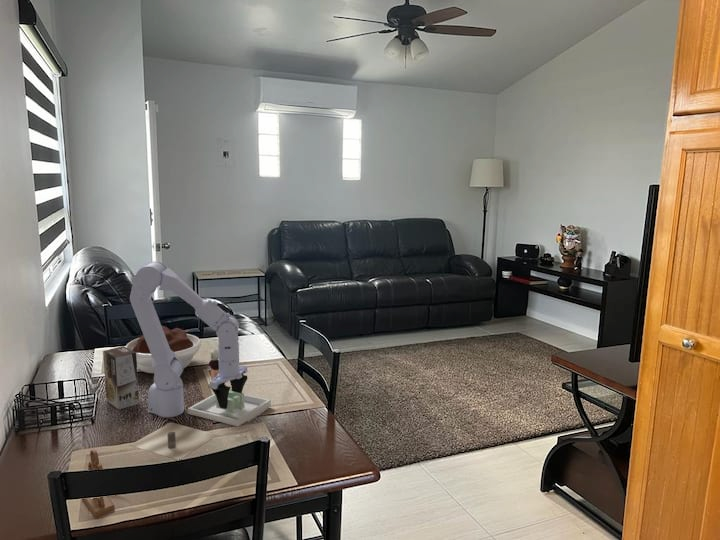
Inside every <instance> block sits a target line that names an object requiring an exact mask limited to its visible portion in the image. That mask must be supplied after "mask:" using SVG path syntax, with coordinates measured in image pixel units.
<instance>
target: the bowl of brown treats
mask: <svg viewBox="0 0 720 540" xmlns="http://www.w3.org/2000/svg"><path fill="white" fill-rule="evenodd" d="M161 326H162V329H163V331H164V334H165V336H166V339H167V342H168V344H169V347H170V349H171V350H172V351H173V352H174V353H175V355H176V357H177V358H178V359H179V360H180V361H181V362H182V364H183V369H185V368H187V367H189V365H191V363H192V361H193V358H194V356H195V355H196V354H197V352H198V351H199V349H200V348H201V346H202V343H201V342H202V341H201V339H200V338H199V337H198V336H196V335H194V334H189V333H187V331H186V330H184V329H182V328H179V327H175V328H173V329H170V328H168V327H167V326H165V325H161ZM125 347H126V348H128V349H130V350H132V351H134V352H136V358H137V370H139V371H141V372H144V373H147V374H152V375H154V370H153V358H152V355H151V353H150V350H149V348H148V345H147V342H146V340H145V337H144V335H143V334H142V335H141V336H140V337H138V338H135V339H133V340H130V342H128V343H126V345H125Z"/></svg>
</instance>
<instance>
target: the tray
mask: <svg viewBox="0 0 720 540" xmlns="http://www.w3.org/2000/svg"><path fill="white" fill-rule="evenodd" d="M243 394H244V404H245V408H243V409H242V410H240V409H235V410H234V411H228V410H224V409H220V408H216V395H215V393H214V394H212V395H210V396H209V397H208V396H207V398H204V399H203V400H200V401H199V402H197V403H195V404H193V405H192V406H190V407H188V408H187V415H192V416H196V417H200V418H203V419H207V420H212V421H215V422H218V423H223V424H227V425H231V426H234V427H240V426H241V425H243V424H244V423H245V422H249V423H251V422H252V421H253V420H255V419H256V418H258V417H259V416H260V415H259V414H261V413H262V412H263V411H265V410H267V409H268V408H269V407H271V408H272V400H271V399H268V398H264V397H259V396H256V395H251V394H245V393H243ZM268 410H269V409H268ZM268 410H267V411H268ZM265 412H266V411H265ZM262 414H263V413H262ZM262 414H261V415H262ZM258 415H259V416H258ZM257 416H258V417H257ZM254 418H255V419H254ZM251 420H252V421H251Z"/></svg>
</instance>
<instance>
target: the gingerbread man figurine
mask: <svg viewBox="0 0 720 540" xmlns="http://www.w3.org/2000/svg"><path fill="white" fill-rule="evenodd" d="M89 452H90V453H89V456H90V461H89V462H88V464H87V467H88V469H87V470H100V469H103V468H104V467H103V465H102V463H100V459H99V458H100V457H99V455H98V451H97V450H96V449H95V448H94V449H91V450H90V451H89ZM103 470H104V469H103ZM82 501H83V502H84V504H85V505H86V506H87V509H88V510H89V512H90V513H91V514H92V515H93V517H94V518H97V517H101V516H103V515H104V514H107V513H110V512H112V511H115V507H116V506H115V504H114V503H113V502H112V500H111V499H110V497H109V496H108V497H100V498H93V499H84V500H83V499H82Z"/></svg>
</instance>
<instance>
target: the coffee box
mask: <svg viewBox="0 0 720 540" xmlns="http://www.w3.org/2000/svg"><path fill="white" fill-rule="evenodd" d="M102 356H103V366H104V367H103V371H104V381H105V394H106V402H107V403H109V404H110V405H112V406H113V407H114V408H116V409H118V410H122V409H125V408H128V407H133V406H137V405H140V397H139V395H140V394H139V381H138V367H137V358H136V352H134V351H132V350H130V349H128V348H126V346H124V345H123V346H118V347H113V348H110V349H106V350H102Z"/></svg>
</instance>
